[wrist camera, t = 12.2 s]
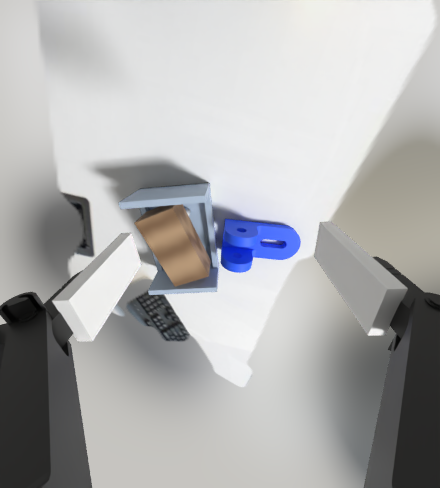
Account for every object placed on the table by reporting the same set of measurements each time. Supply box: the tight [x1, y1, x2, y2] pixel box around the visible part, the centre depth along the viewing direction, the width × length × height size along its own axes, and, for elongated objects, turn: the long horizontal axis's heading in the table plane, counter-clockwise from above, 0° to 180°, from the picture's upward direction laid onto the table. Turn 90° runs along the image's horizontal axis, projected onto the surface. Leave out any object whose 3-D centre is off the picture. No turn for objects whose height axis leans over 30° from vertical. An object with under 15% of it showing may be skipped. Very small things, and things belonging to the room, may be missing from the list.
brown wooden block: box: [135, 204, 211, 287], centre depth 43 cm, size 16×8×6 cm, turn 22°
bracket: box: [221, 219, 300, 273], centre depth 45 cm, size 18×8×9 cm, turn 84°
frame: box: [119, 183, 219, 295], centre depth 44 cm, size 21×15×10 cm
